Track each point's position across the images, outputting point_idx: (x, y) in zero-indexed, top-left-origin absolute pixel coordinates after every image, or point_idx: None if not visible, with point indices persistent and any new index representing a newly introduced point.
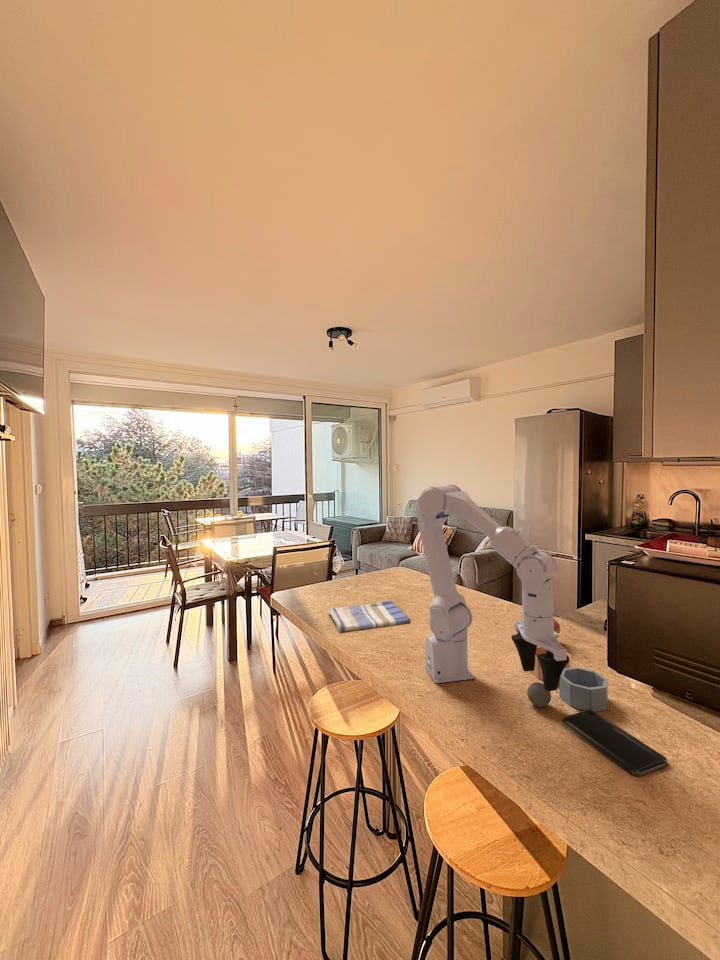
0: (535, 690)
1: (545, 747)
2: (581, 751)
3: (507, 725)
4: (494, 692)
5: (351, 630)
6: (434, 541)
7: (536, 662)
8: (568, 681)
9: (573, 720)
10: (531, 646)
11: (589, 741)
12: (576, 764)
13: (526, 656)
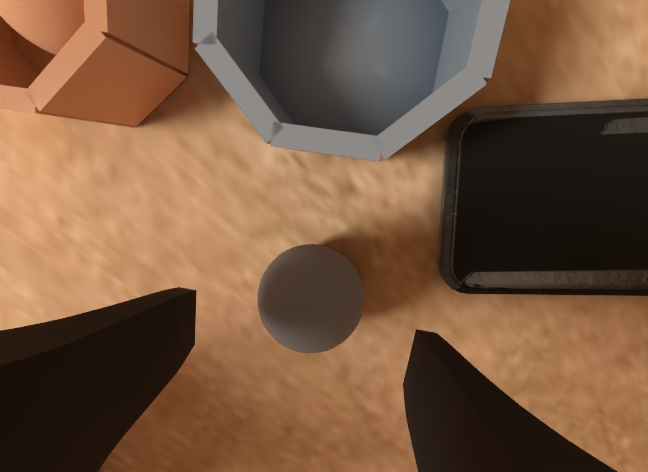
0: (325, 350)
1: None
2: (598, 341)
3: (375, 447)
4: (191, 365)
5: None
6: None
7: (51, 114)
8: (347, 144)
9: (474, 249)
10: (29, 431)
11: (599, 293)
12: (631, 401)
13: (120, 398)
